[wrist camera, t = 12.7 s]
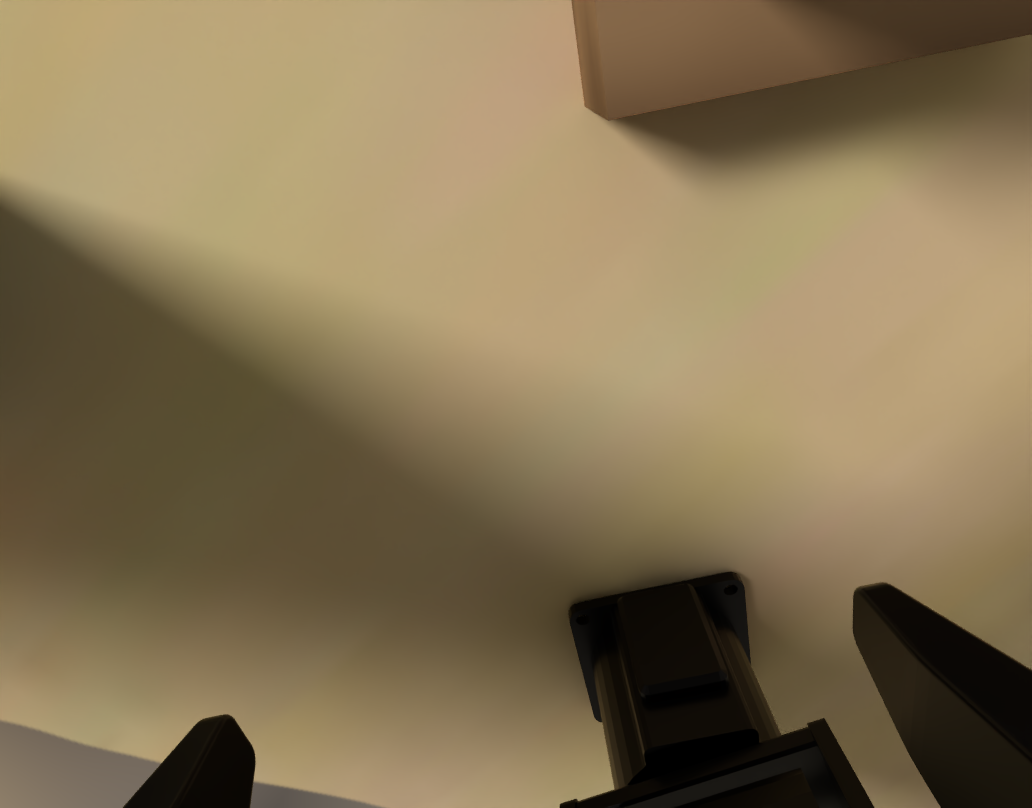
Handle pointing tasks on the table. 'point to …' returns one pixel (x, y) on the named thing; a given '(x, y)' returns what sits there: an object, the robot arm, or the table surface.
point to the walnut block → (763, 43)
